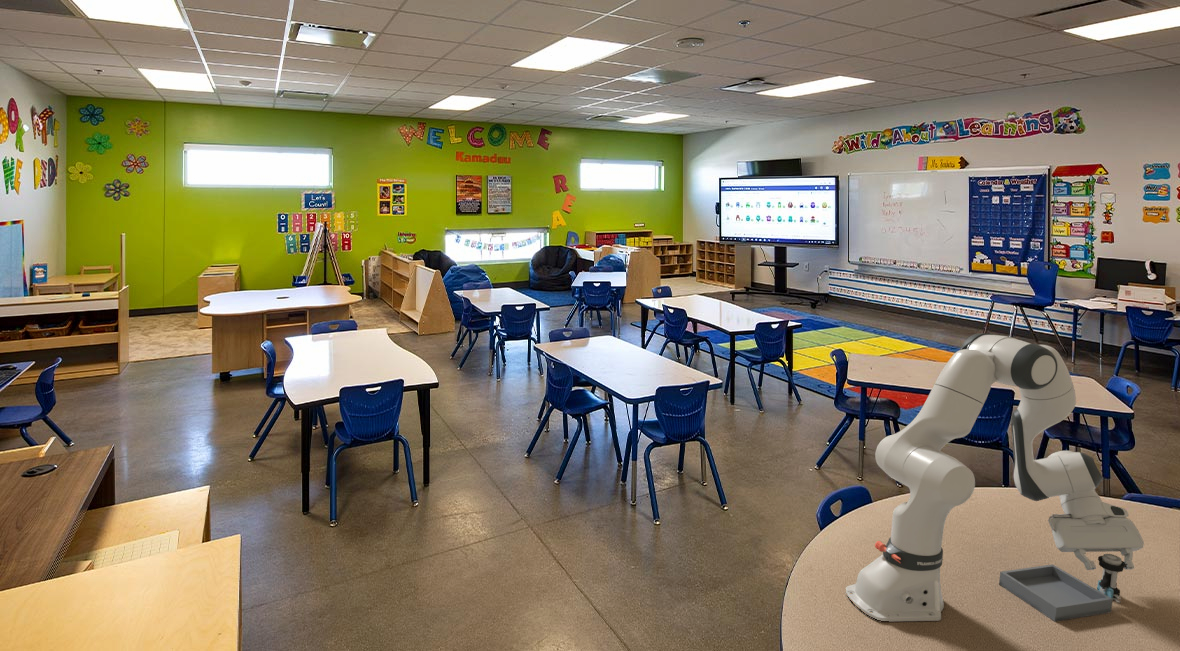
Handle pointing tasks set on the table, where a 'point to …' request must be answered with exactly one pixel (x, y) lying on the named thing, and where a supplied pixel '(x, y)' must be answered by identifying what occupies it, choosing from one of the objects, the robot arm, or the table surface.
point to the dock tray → (1055, 592)
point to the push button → (1110, 575)
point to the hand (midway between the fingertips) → (1110, 569)
